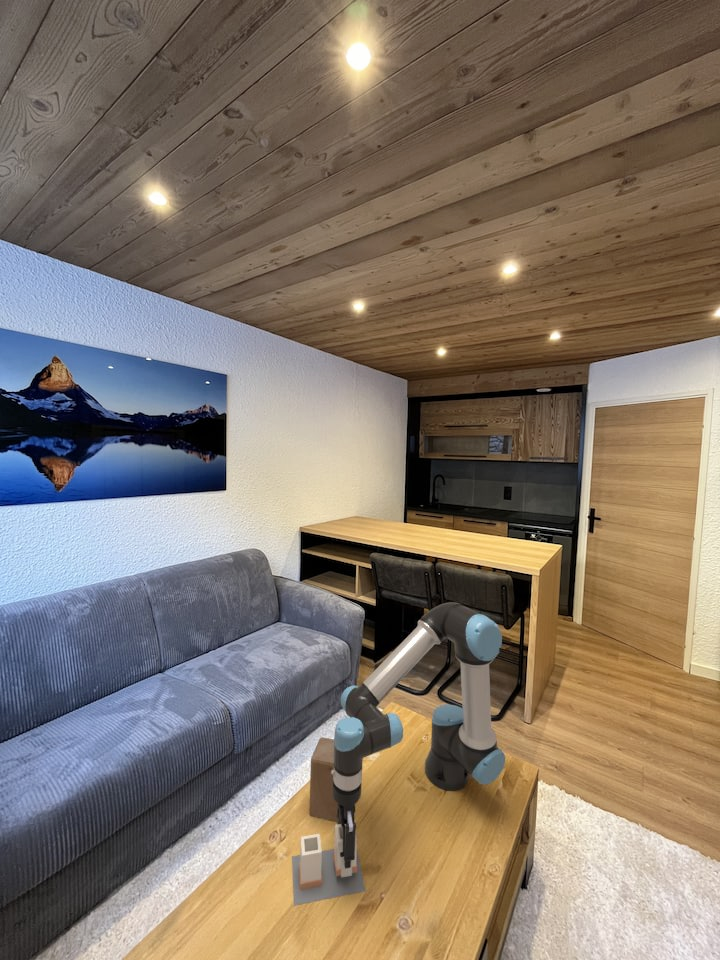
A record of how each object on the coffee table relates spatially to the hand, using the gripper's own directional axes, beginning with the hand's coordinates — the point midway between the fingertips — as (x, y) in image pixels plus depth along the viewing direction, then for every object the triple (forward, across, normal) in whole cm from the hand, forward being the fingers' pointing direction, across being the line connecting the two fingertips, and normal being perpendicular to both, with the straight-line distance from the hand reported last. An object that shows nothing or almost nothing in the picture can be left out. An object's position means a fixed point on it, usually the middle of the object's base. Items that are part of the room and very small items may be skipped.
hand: (344, 862), depth 106 cm
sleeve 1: (+2, 0, -9) cm, 9 cm away
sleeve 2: (0, 0, 0) cm, 0 cm away
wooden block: (+4, -20, -1) cm, 20 cm away
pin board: (+4, 0, -4) cm, 6 cm away
